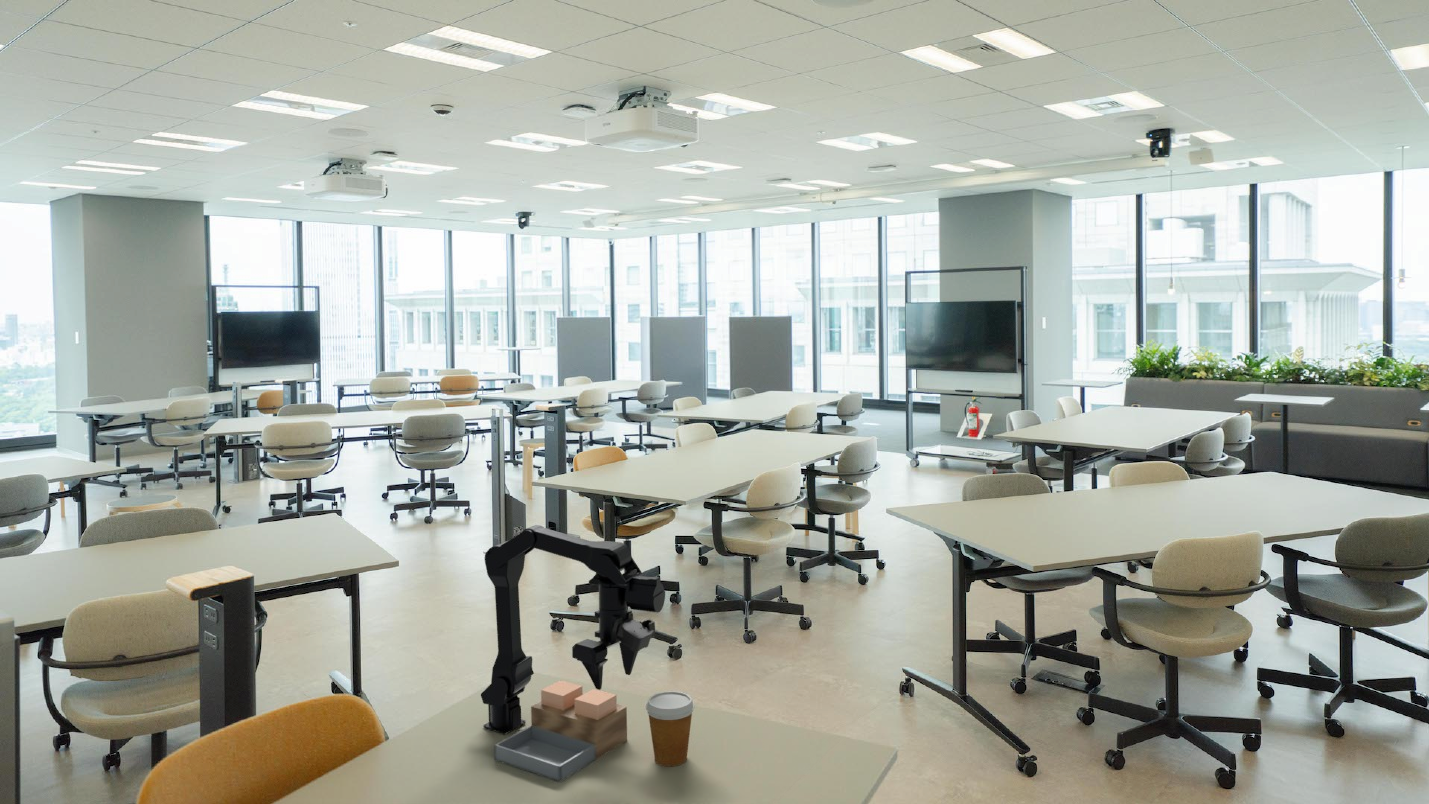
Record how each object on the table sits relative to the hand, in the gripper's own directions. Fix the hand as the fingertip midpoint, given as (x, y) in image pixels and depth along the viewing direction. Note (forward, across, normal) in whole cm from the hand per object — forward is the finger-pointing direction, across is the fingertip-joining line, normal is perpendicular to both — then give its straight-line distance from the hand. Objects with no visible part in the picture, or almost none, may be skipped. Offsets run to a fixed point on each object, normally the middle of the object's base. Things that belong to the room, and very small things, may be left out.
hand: (613, 681), depth 183 cm
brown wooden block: (+13, -2, +7) cm, 15 cm away
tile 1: (+6, -2, +12) cm, 14 cm away
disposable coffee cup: (+13, +1, -14) cm, 19 cm away
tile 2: (+6, -2, +3) cm, 7 cm away
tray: (+13, -12, +7) cm, 19 cm away
